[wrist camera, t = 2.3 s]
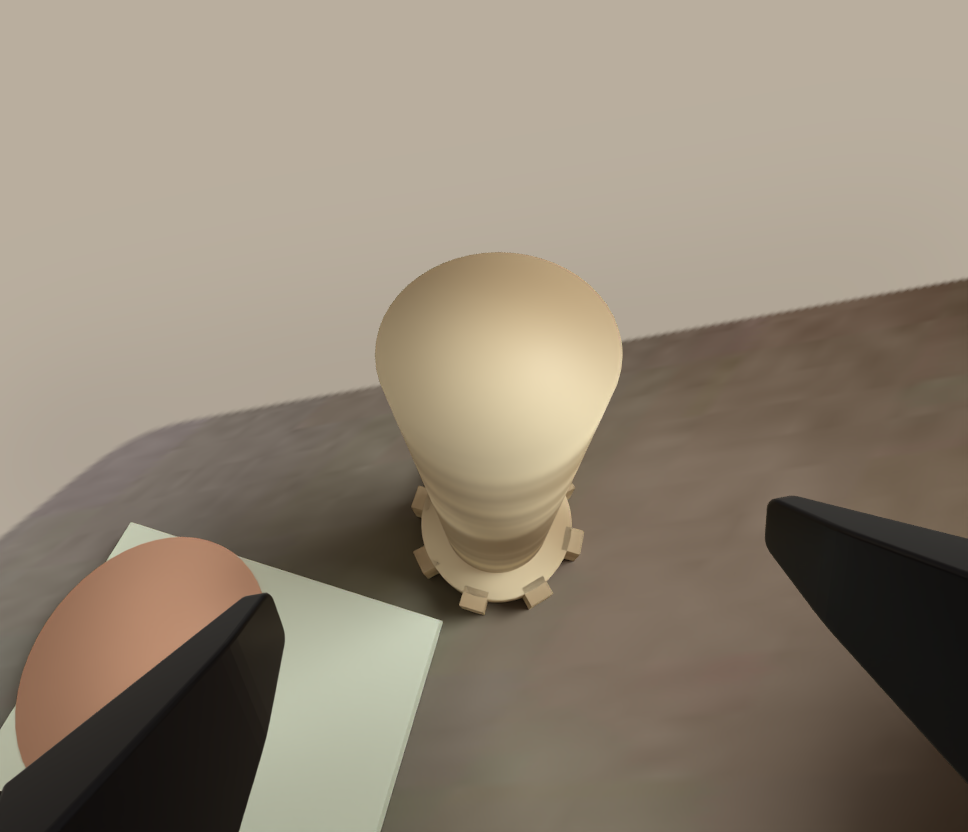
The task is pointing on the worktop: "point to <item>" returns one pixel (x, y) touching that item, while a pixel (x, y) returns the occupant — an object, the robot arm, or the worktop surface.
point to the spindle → (497, 415)
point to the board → (300, 688)
